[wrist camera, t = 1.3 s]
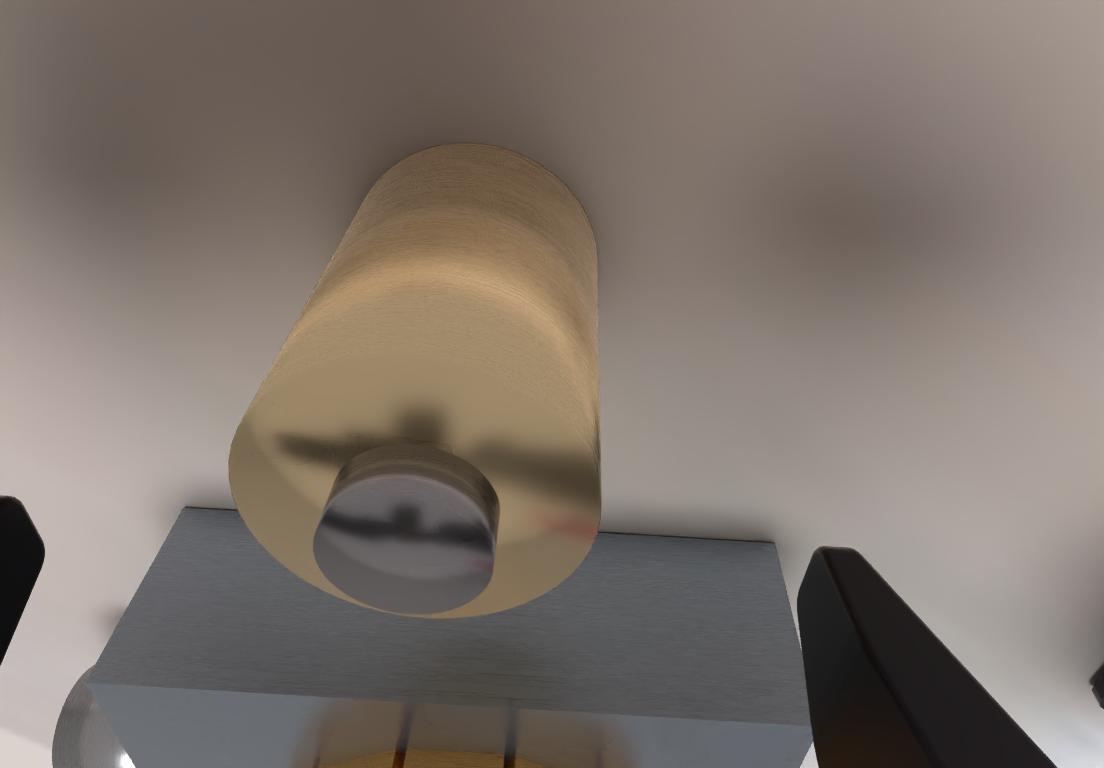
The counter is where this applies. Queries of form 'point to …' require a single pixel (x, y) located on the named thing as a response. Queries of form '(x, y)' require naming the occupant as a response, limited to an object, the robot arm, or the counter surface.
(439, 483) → the beige cylinder
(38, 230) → the counter surface
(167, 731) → the gearbox
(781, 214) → the counter surface
